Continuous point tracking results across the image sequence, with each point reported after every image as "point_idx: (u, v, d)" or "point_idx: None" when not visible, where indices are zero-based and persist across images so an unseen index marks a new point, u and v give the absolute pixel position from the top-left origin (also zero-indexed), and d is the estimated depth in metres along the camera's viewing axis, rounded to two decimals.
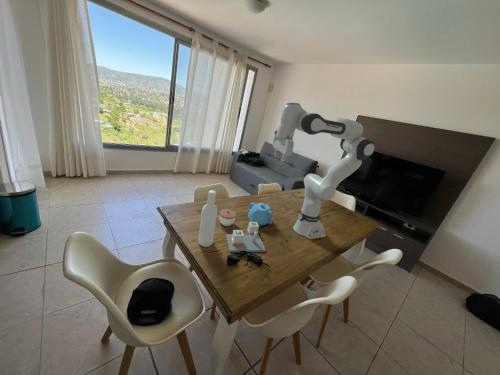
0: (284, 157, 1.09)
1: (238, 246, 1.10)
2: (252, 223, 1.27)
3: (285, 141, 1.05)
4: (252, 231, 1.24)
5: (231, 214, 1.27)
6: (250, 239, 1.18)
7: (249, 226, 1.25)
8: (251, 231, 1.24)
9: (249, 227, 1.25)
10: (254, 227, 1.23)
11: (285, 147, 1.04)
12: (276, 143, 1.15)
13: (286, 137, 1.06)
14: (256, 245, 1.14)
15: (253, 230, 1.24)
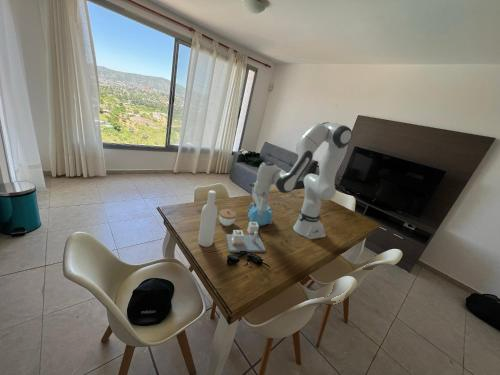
0: (260, 211, 1.15)
1: (238, 246, 1.10)
2: (252, 223, 1.27)
3: (260, 198, 1.12)
4: (252, 231, 1.24)
5: (231, 214, 1.27)
6: (250, 239, 1.18)
7: (249, 226, 1.25)
8: (251, 231, 1.24)
9: (249, 227, 1.25)
10: (254, 227, 1.23)
11: (260, 204, 1.11)
12: (254, 195, 1.22)
13: (262, 193, 1.13)
14: (256, 245, 1.14)
15: (253, 230, 1.24)
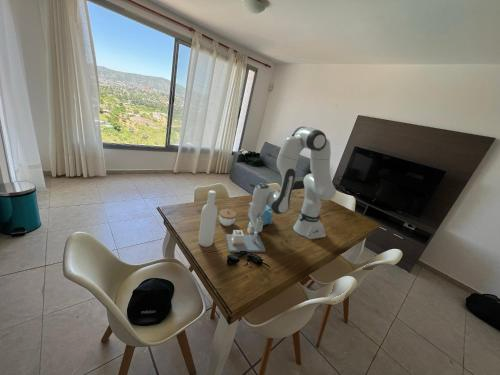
0: None
1: (238, 246, 1.10)
2: None
3: (256, 219, 1.17)
4: (252, 231, 1.24)
5: (231, 214, 1.27)
6: (250, 239, 1.18)
7: (249, 226, 1.25)
8: (251, 231, 1.24)
9: (249, 227, 1.25)
10: None
11: (256, 225, 1.16)
12: (250, 214, 1.27)
13: (257, 215, 1.18)
14: (256, 245, 1.14)
15: None
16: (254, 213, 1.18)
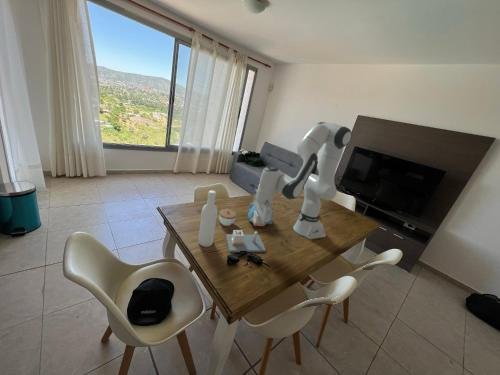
0: (262, 219, 1.06)
1: (238, 246, 1.10)
2: None
3: (263, 207, 1.01)
4: (258, 221, 1.09)
5: (231, 214, 1.27)
6: (250, 239, 1.18)
7: (255, 216, 1.10)
8: (257, 221, 1.08)
9: (255, 217, 1.09)
10: None
11: (263, 213, 1.01)
12: (256, 202, 1.12)
13: (265, 202, 1.03)
14: (256, 245, 1.14)
15: None
16: (261, 200, 1.03)
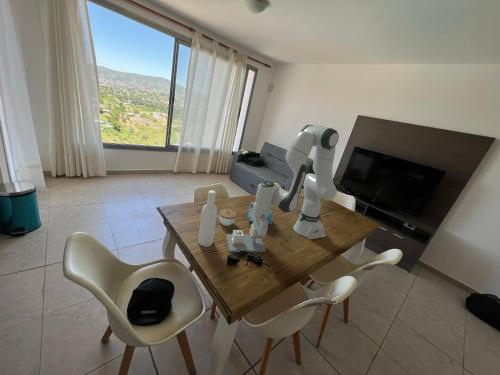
0: (259, 233, 1.09)
1: (238, 246, 1.10)
2: None
3: (260, 221, 1.04)
4: (255, 234, 1.12)
5: (231, 214, 1.27)
6: (250, 239, 1.18)
7: (252, 228, 1.13)
8: (254, 234, 1.12)
9: (252, 230, 1.13)
10: None
11: (259, 227, 1.04)
12: (253, 215, 1.15)
13: (261, 216, 1.06)
14: (256, 245, 1.14)
15: None
16: (258, 214, 1.06)
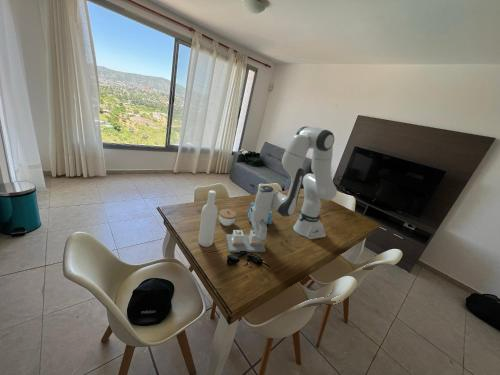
0: (259, 238, 1.09)
1: (238, 246, 1.10)
2: None
3: (259, 225, 1.05)
4: (254, 241, 1.13)
5: (231, 214, 1.27)
6: None
7: (250, 235, 1.14)
8: (253, 241, 1.13)
9: (250, 236, 1.14)
10: (256, 236, 1.13)
11: (259, 232, 1.05)
12: (253, 219, 1.16)
13: (260, 220, 1.07)
14: (256, 245, 1.14)
15: (255, 240, 1.13)
16: (257, 219, 1.07)
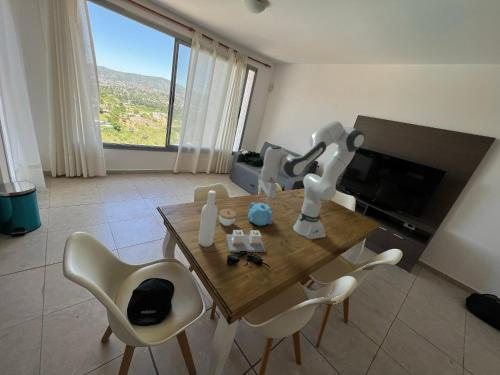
0: (268, 198, 1.11)
1: (238, 246, 1.10)
2: None
3: (268, 184, 1.08)
4: (254, 241, 1.13)
5: (231, 214, 1.27)
6: None
7: (250, 235, 1.14)
8: (253, 241, 1.13)
9: (250, 236, 1.14)
10: (256, 236, 1.13)
11: (268, 190, 1.07)
12: (261, 181, 1.18)
13: (269, 179, 1.09)
14: (256, 245, 1.14)
15: (255, 240, 1.13)
16: (266, 178, 1.09)
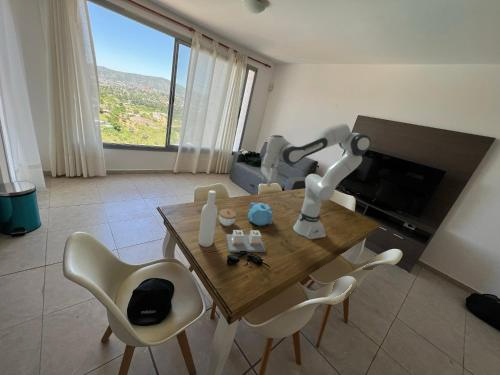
0: (269, 182, 1.22)
1: (238, 246, 1.10)
2: None
3: (270, 169, 1.18)
4: (254, 241, 1.13)
5: (231, 214, 1.27)
6: None
7: (250, 235, 1.14)
8: (253, 241, 1.13)
9: (250, 236, 1.14)
10: (256, 236, 1.13)
11: (270, 174, 1.18)
12: (263, 168, 1.29)
13: (271, 165, 1.20)
14: (256, 245, 1.14)
15: (255, 240, 1.13)
16: (268, 164, 1.20)
